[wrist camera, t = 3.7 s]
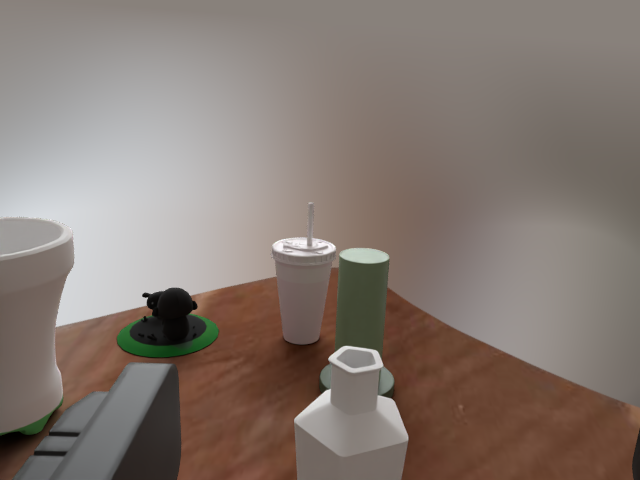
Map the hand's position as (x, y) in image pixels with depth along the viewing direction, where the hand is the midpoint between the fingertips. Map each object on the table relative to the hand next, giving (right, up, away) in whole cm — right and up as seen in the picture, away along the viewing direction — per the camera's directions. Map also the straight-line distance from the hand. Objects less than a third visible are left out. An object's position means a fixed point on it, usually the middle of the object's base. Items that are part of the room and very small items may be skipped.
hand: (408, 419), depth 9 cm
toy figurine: (-17, -7, +47) cm, 50 cm away
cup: (-25, -11, +32) cm, 42 cm away
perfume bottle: (-1, -16, +16) cm, 23 cm away
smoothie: (-3, -7, +47) cm, 48 cm away
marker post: (+2, -10, +38) cm, 40 cm away
